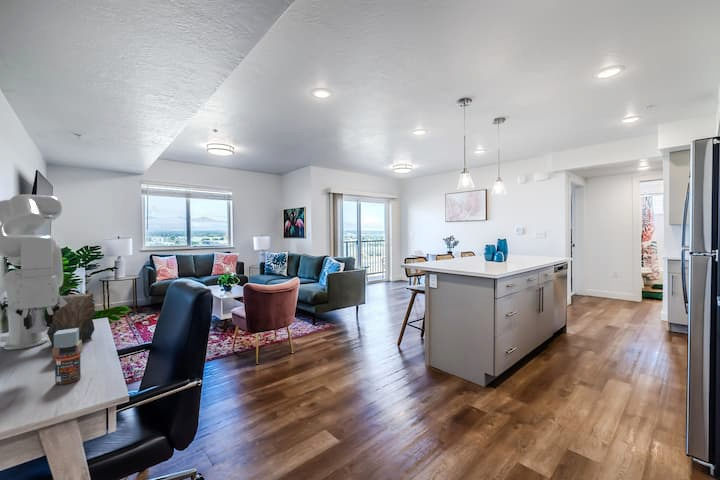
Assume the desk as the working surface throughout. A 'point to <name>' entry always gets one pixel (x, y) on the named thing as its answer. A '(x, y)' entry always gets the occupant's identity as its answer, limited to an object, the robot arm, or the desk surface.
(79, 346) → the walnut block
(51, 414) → the desk surface
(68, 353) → the supplement bottle
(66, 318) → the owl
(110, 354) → the desk surface
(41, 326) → the rook chess piece
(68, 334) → the slate block
